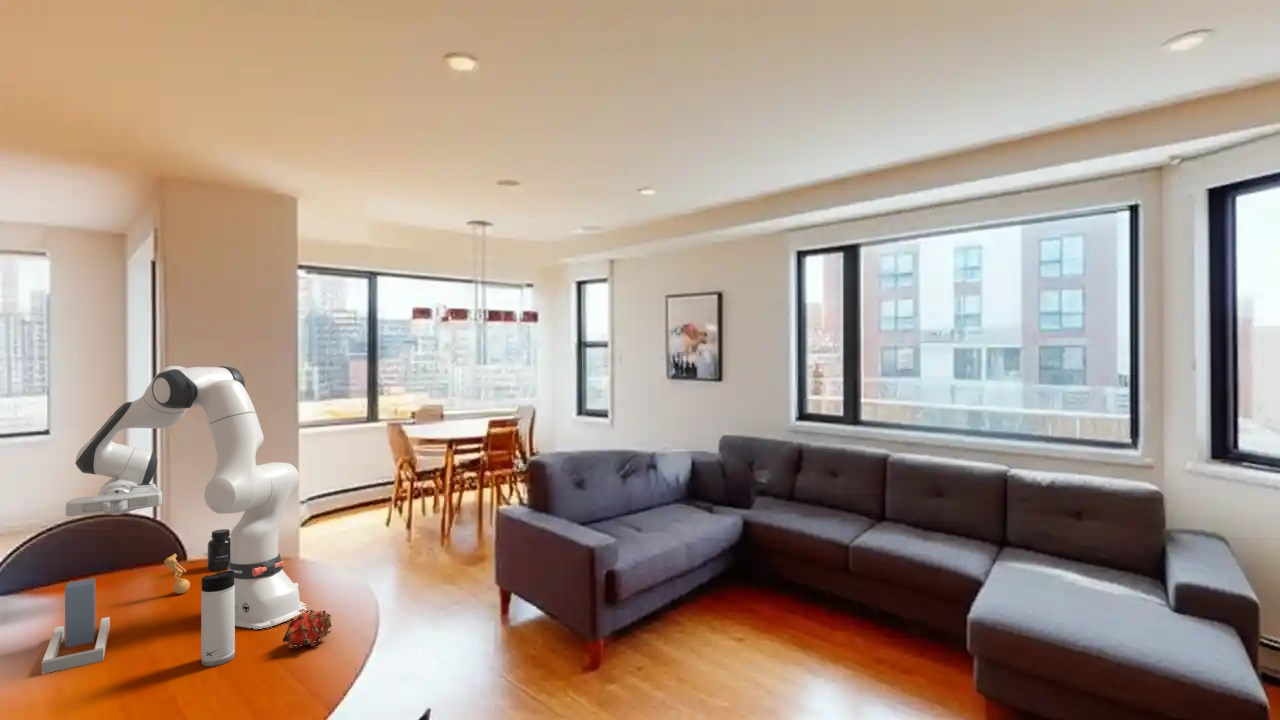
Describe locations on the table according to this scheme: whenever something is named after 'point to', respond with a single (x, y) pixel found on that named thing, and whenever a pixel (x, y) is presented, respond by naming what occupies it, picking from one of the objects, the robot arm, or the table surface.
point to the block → (79, 612)
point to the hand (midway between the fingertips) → (114, 508)
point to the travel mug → (217, 618)
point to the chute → (77, 659)
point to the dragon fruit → (308, 629)
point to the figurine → (180, 584)
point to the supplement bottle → (219, 550)
